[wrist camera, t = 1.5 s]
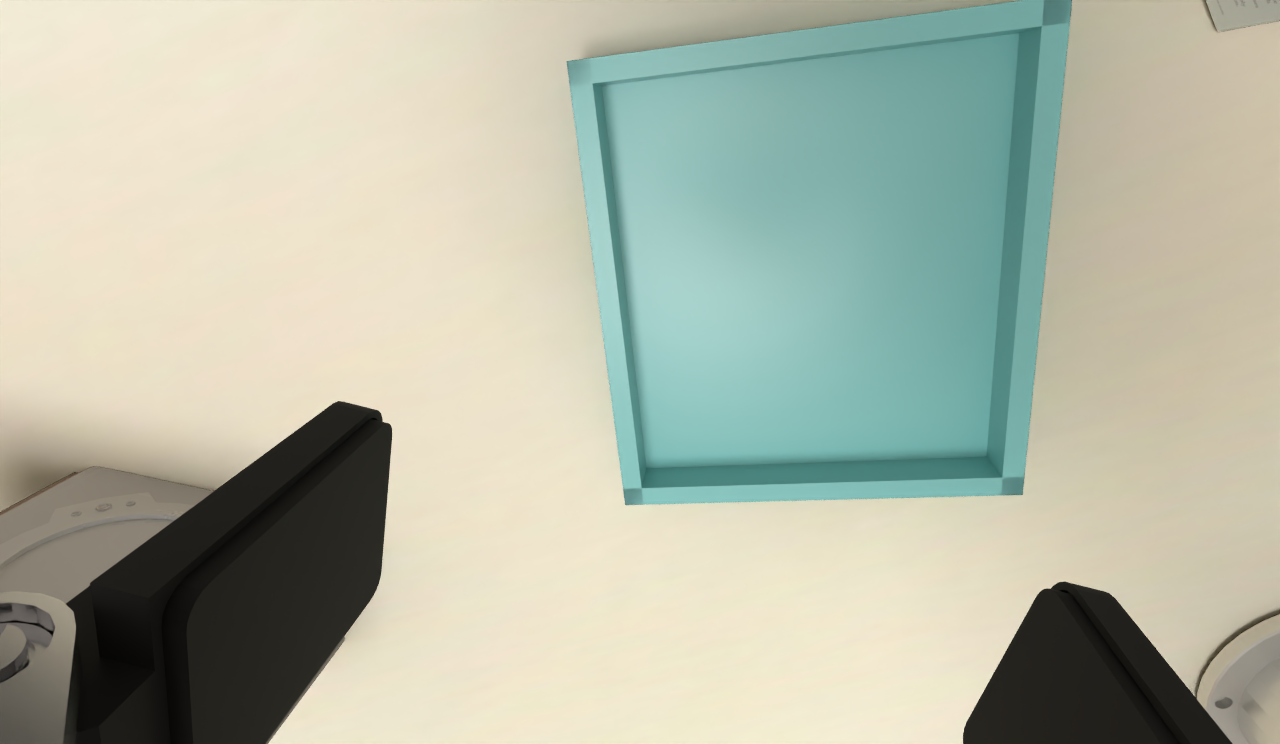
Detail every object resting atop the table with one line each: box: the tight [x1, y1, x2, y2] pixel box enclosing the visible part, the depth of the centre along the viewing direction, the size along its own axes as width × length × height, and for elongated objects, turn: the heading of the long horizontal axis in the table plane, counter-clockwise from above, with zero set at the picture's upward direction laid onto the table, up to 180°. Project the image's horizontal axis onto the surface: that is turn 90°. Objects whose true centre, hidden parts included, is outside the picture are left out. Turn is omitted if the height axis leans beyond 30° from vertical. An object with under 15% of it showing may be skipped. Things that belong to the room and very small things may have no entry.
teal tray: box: [567, 0, 1072, 505], centre depth 32 cm, size 20×22×3 cm
